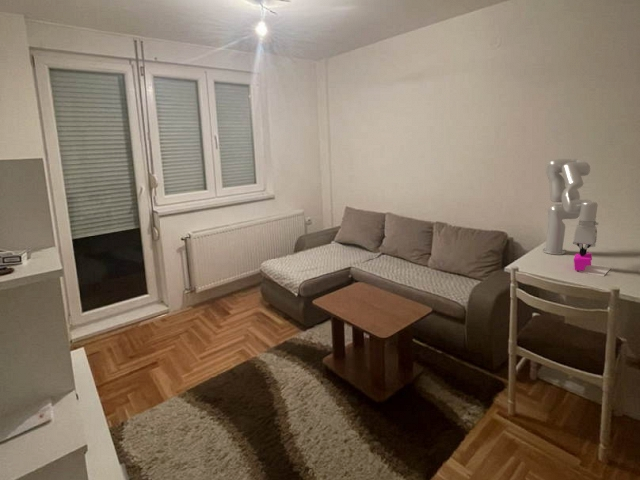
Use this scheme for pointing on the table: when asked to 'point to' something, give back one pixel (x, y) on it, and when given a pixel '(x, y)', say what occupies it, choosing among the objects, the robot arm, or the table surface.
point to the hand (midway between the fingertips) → (582, 255)
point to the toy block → (582, 261)
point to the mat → (595, 270)
